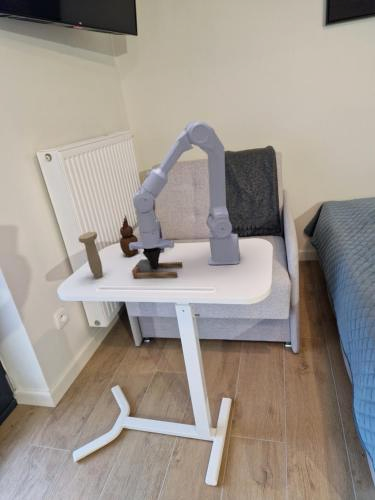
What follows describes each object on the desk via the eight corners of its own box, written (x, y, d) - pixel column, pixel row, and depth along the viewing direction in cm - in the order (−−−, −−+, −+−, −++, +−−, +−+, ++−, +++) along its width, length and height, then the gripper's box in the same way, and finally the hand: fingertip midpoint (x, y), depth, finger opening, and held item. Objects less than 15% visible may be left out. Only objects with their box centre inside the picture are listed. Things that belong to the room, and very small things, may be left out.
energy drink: (165, 247, 127) (160, 218, 122) (163, 253, 122) (157, 222, 117) (152, 248, 127) (146, 219, 123) (149, 254, 123) (143, 224, 118)
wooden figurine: (132, 249, 129) (124, 213, 124) (142, 251, 126) (135, 214, 120) (119, 256, 124) (111, 219, 119) (130, 258, 121) (122, 220, 115)
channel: (182, 266, 109) (181, 257, 108) (176, 277, 102) (175, 269, 101) (142, 267, 112) (140, 259, 111) (133, 278, 105) (131, 270, 104)
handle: (87, 280, 108) (75, 239, 103) (97, 272, 114) (86, 231, 108) (99, 281, 107) (88, 238, 101) (109, 272, 112) (99, 231, 107)
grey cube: (154, 269, 109) (152, 258, 108) (151, 275, 106) (149, 264, 104) (143, 270, 110) (141, 259, 109) (139, 275, 107) (137, 264, 105)
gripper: (173, 223, 103) (180, 262, 109) (131, 226, 107) (139, 263, 112) (168, 231, 97) (174, 272, 102) (123, 234, 101) (132, 273, 106)
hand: (155, 268), depth 107 cm, fingers closed
